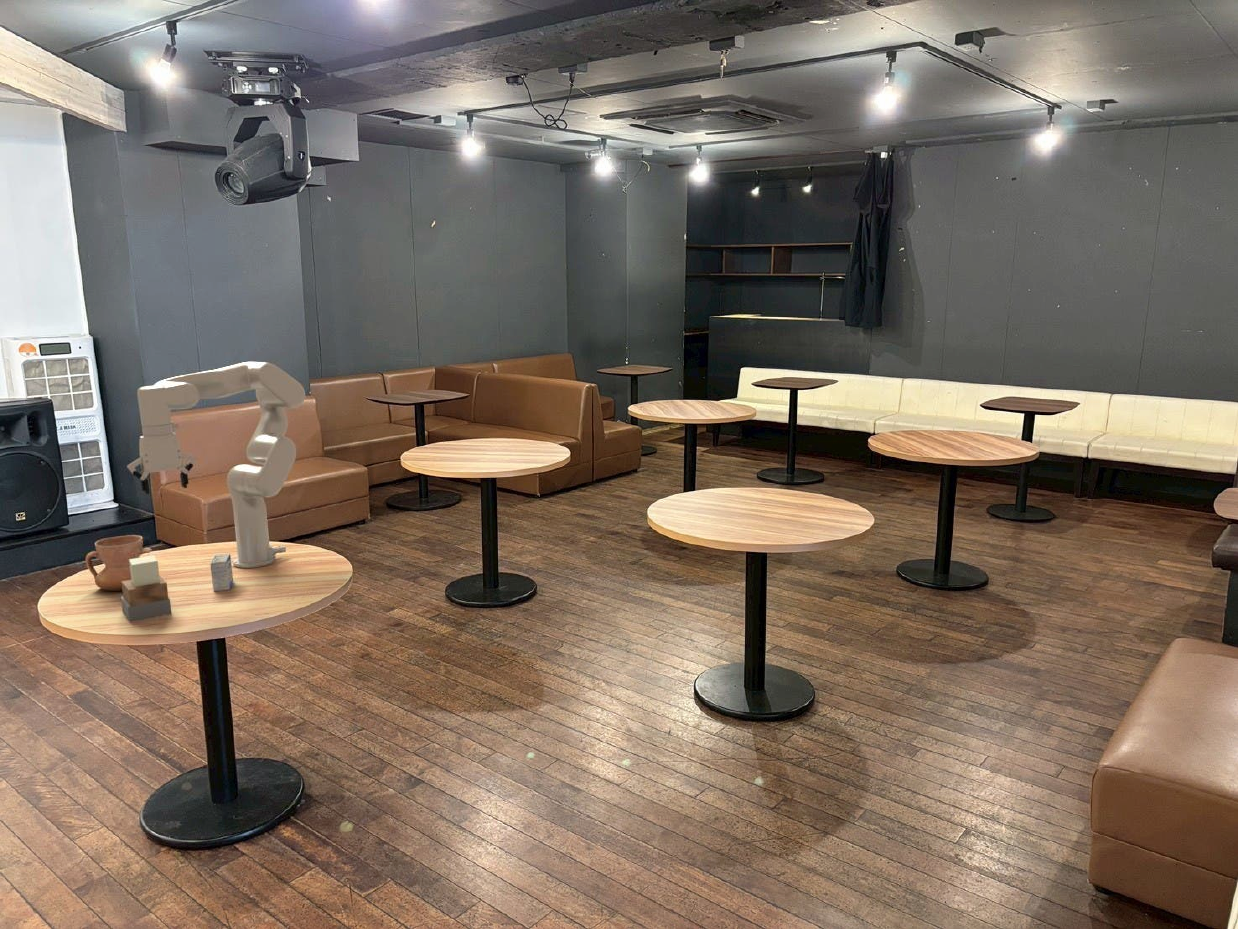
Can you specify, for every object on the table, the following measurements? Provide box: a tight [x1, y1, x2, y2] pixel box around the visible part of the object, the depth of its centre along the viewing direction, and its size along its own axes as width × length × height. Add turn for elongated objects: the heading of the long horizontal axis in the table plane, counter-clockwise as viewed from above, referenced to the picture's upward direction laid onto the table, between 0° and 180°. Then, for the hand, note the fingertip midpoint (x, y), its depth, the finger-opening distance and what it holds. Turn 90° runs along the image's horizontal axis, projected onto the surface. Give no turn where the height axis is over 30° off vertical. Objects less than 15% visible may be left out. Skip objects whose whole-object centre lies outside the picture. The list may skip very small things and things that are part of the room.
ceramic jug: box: [85, 534, 153, 592], centre depth 252 cm, size 18×14×14 cm
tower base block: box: [120, 596, 172, 623], centre depth 233 cm, size 10×10×4 cm
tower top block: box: [121, 575, 169, 606], centre depth 232 cm, size 9×9×4 cm
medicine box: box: [209, 553, 234, 592], centre depth 252 cm, size 8×4×9 cm, turn 17°
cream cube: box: [129, 554, 160, 587], centre depth 231 cm, size 6×6×6 cm
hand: (165, 490), depth 245 cm, fingers open, 9 cm apart
